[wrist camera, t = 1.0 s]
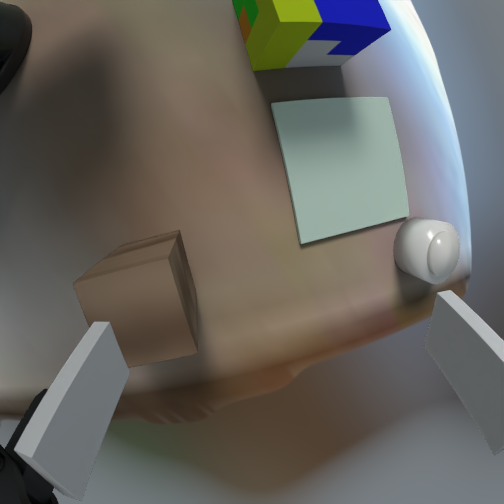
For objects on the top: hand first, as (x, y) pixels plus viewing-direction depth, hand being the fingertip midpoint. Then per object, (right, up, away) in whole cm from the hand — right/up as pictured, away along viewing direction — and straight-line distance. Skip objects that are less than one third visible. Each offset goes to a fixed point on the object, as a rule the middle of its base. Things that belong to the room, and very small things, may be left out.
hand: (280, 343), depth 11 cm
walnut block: (-10, +2, +17) cm, 19 cm away
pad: (+9, +13, +18) cm, 24 cm away
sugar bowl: (+19, +4, +22) cm, 29 cm away
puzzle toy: (+3, +27, +14) cm, 31 cm away
